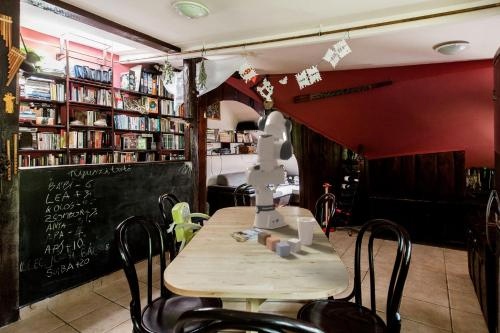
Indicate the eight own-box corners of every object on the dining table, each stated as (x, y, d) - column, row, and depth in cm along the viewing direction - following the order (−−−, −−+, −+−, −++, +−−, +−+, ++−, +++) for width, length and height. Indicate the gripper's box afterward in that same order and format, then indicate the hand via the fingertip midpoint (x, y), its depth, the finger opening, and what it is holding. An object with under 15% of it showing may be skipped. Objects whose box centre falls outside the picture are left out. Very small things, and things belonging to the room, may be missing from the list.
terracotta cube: (274, 245, 151) (274, 236, 151) (280, 249, 147) (280, 239, 146) (266, 247, 149) (266, 238, 149) (271, 250, 145) (271, 241, 144)
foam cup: (304, 247, 148) (304, 222, 147) (293, 242, 157) (293, 218, 156) (318, 244, 153) (318, 220, 152) (307, 239, 161) (307, 216, 160)
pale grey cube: (292, 247, 149) (293, 238, 148) (301, 250, 145) (301, 240, 145) (287, 250, 145) (287, 240, 145) (295, 252, 142) (295, 242, 141)
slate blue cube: (285, 251, 143) (285, 242, 143) (289, 255, 138) (290, 245, 138) (276, 253, 142) (276, 243, 141) (280, 257, 137) (280, 246, 136)
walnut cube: (265, 240, 159) (265, 231, 159) (271, 243, 155) (271, 234, 155) (257, 242, 156) (257, 233, 156) (263, 245, 152) (263, 235, 152)
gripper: (281, 165, 154) (281, 191, 155) (244, 166, 147) (244, 193, 148) (286, 166, 148) (286, 193, 149) (248, 167, 141) (248, 195, 142)
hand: (265, 193), depth 148 cm, fingers open, 8 cm apart
